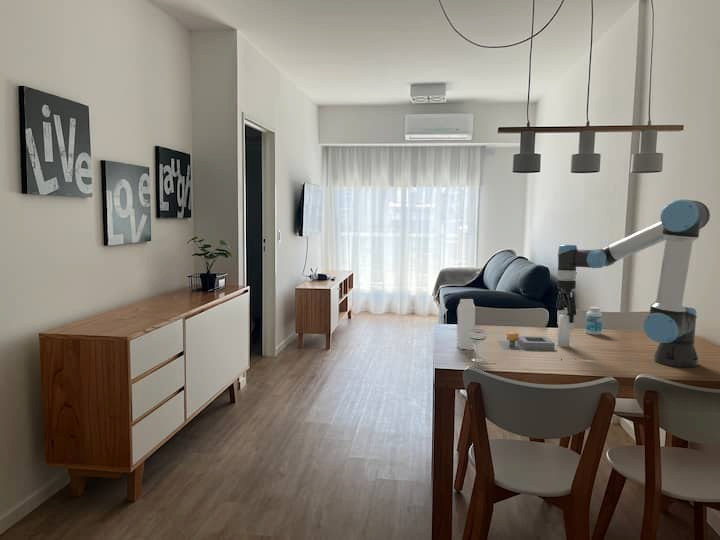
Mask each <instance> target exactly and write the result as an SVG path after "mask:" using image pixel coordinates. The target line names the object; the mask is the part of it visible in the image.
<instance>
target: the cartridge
mask: <svg viewBox="0 0 720 540" xmlns="http://www.w3.org/2000/svg"><path fill="white" fill-rule="evenodd" d="M557 325H558V330H557V346H558V347H561V348H570V343H571V330H567V314H564V315H559V324H557Z"/></svg>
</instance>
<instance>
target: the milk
mask: <svg viewBox="0 0 720 540" xmlns="http://www.w3.org/2000/svg"><path fill="white" fill-rule="evenodd" d="M475 321H476V306H475V303H474V299H473V298H460V300H459V303H458V305H457V329H456V330H457V336H456V338H457V339H456V347H457V346H458V347H459V348H460V349H459V348H458V347H457V348H458V349H459V350H461V349H466V351H468V350H469V351H470V350H471V351H472V350H474V349H475V343H473V342H472V341H471V340H470V338H469V334H470V331H469V330H472V329H476V328H475V327H476V326H475V325H476V323H475ZM467 349H468V350H467Z"/></svg>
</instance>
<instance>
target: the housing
mask: <svg viewBox="0 0 720 540" xmlns="http://www.w3.org/2000/svg"><path fill="white" fill-rule="evenodd" d="M497 343H498V344H499V345H500V346H501V348H503V350H504V351H505V350H506V351H534V352H535V351H540V352H541V351H542V352H557V350H556V349H555V342H554V341H553V340H551V339H550V338H549V337H547V336H538V335H536V336H535V335H518V341H509V340H506V341H505V340H504V341H503V340H497Z"/></svg>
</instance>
